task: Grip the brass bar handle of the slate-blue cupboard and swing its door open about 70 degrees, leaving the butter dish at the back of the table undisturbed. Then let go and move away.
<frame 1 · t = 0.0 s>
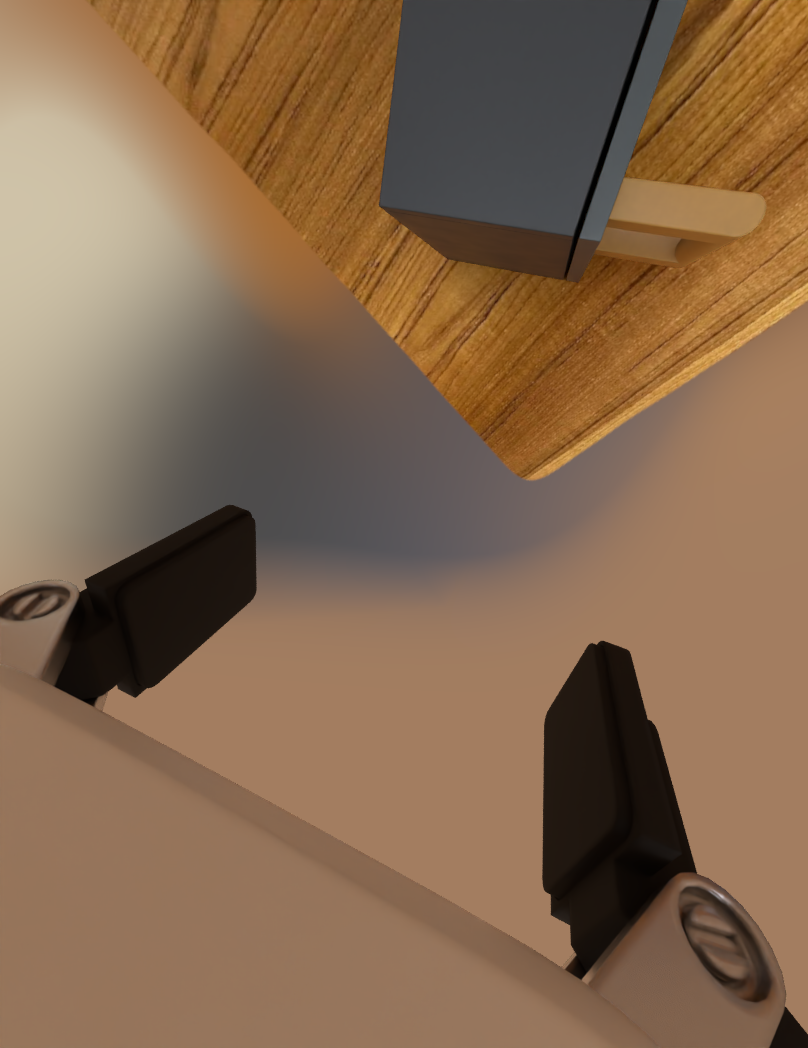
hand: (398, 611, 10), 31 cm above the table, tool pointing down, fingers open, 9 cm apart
door: (702, 98, 19), point 8 cm above the table, hinge at 0.0°
cupboard: (535, 145, 28), on the table
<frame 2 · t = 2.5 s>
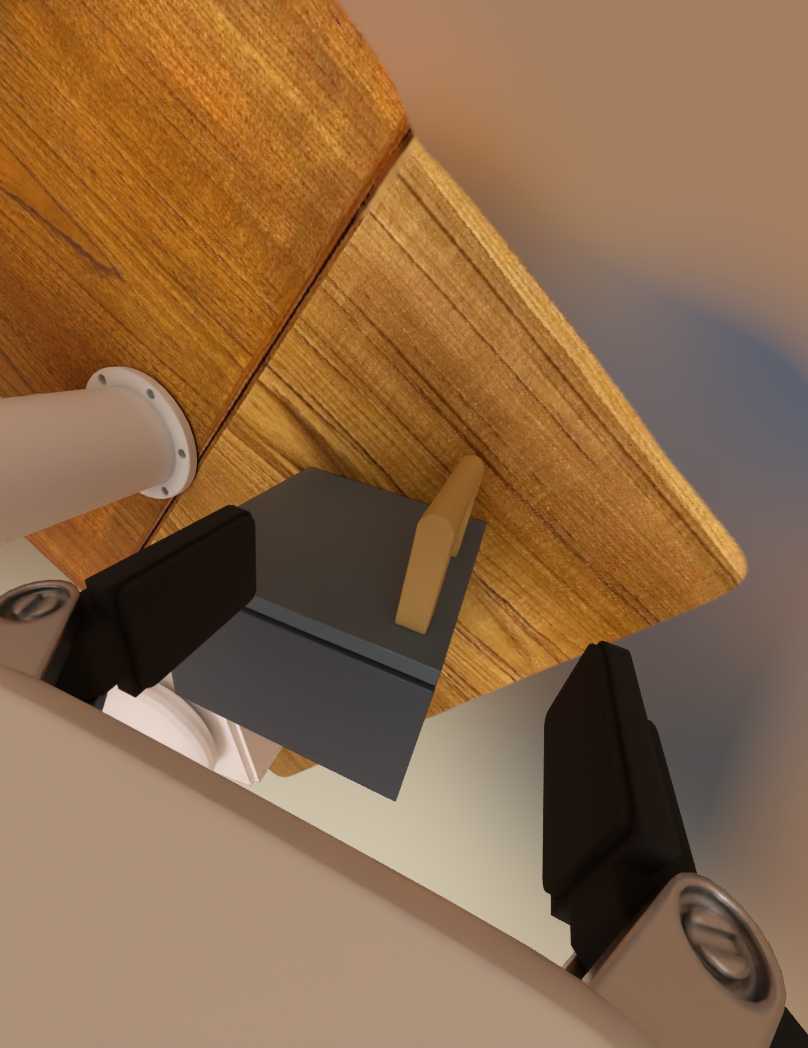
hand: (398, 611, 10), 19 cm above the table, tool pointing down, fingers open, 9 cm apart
door: (358, 498, 23), point 8 cm above the table, hinge at 0.0°
cupboard: (383, 554, 34), on the table
butter dish: (229, 657, 49), on the table
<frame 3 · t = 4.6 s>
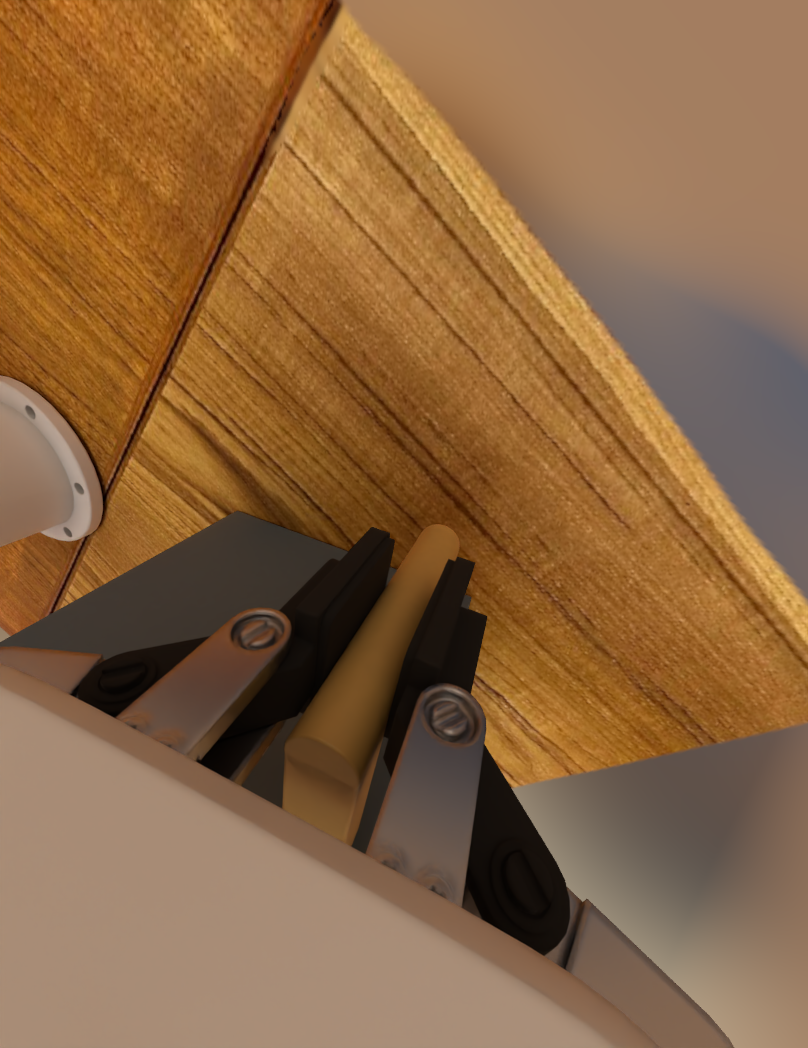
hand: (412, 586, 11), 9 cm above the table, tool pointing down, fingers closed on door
door: (263, 589, 15), point 8 cm above the table, hinge at 0.0°, touching gripper
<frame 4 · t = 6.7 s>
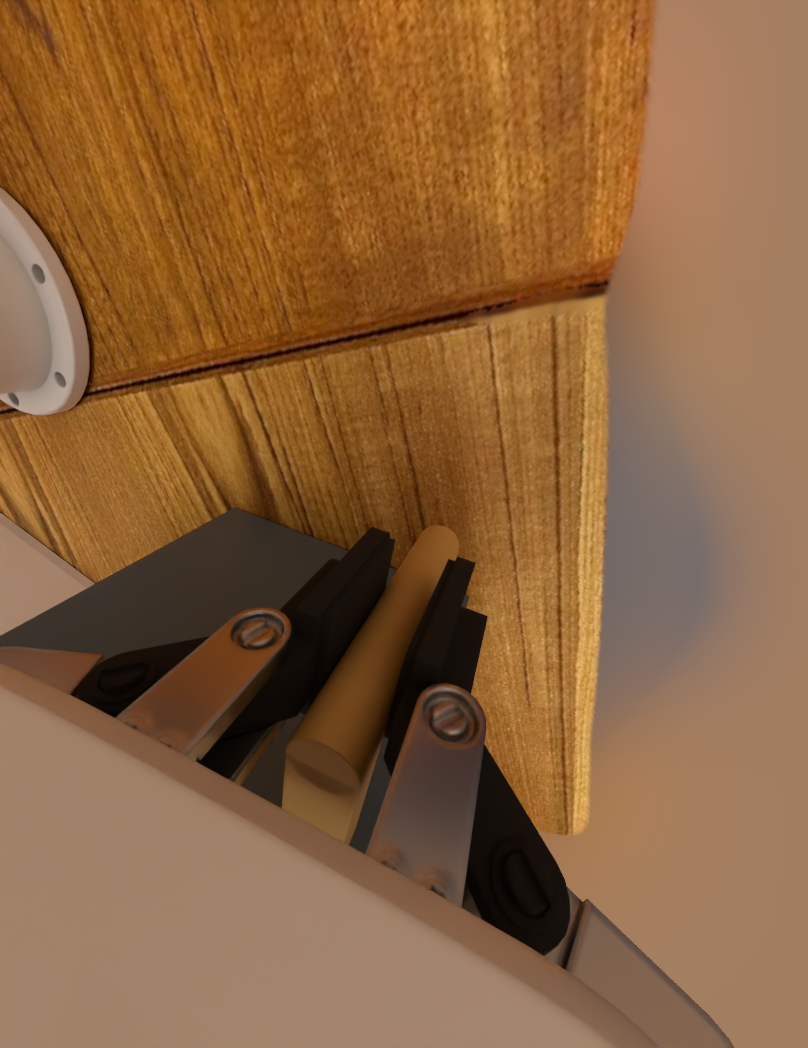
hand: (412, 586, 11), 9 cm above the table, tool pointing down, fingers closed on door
door: (262, 588, 15), point 8 cm above the table, hinge at 33.7°, touching gripper
butter dish: (39, 592, 39), on the table
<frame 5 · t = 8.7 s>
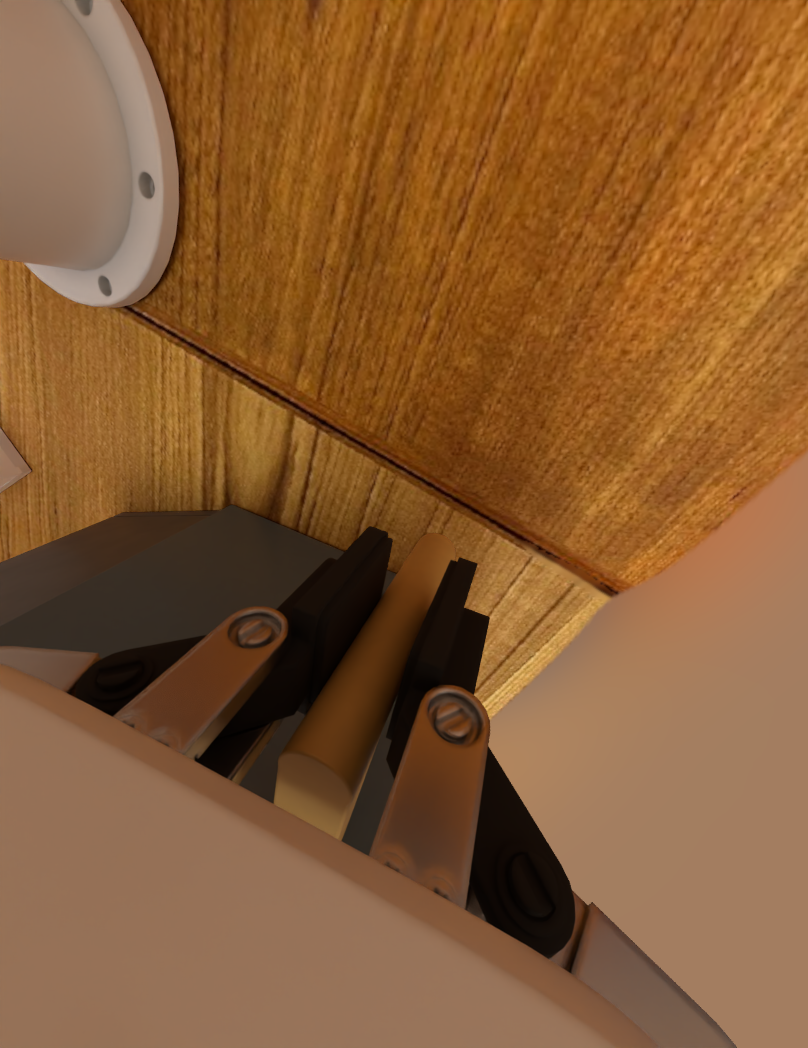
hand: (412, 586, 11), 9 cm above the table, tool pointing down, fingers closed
door: (257, 589, 15), point 8 cm above the table, hinge at 66.3°
cupboard: (210, 603, 29), on the table
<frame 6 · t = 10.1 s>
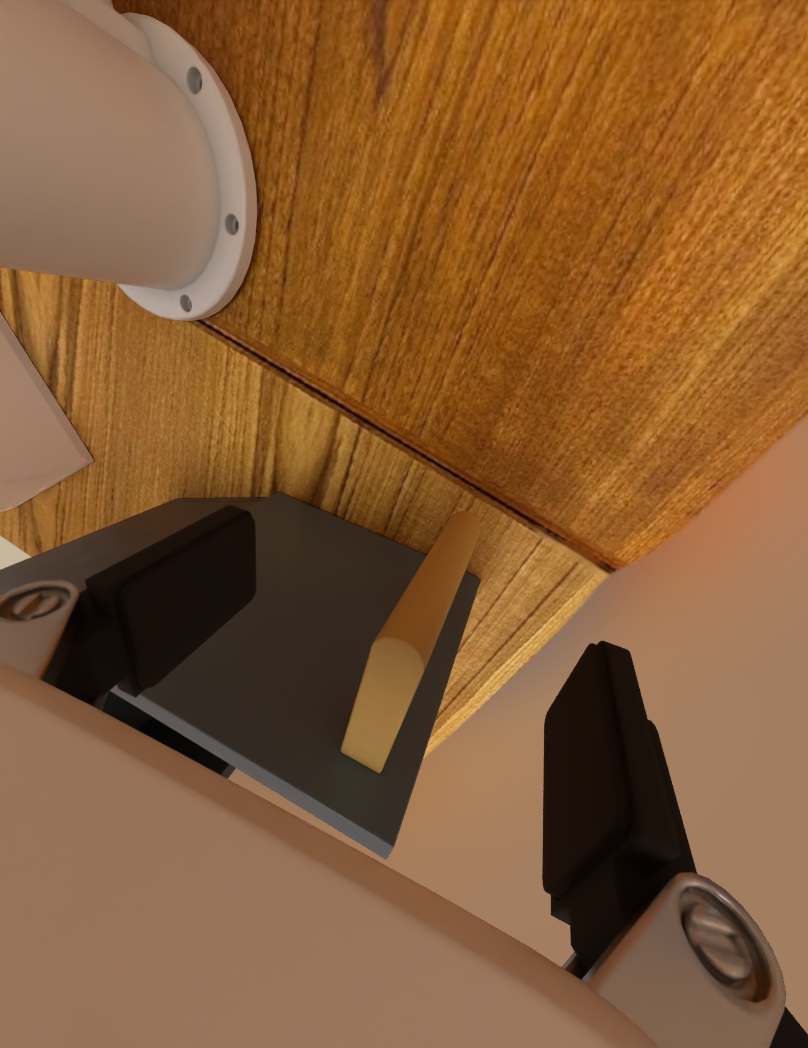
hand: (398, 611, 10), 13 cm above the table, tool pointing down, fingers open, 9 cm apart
door: (318, 555, 18), point 8 cm above the table, hinge at 66.3°
cupboard: (249, 581, 33), on the table
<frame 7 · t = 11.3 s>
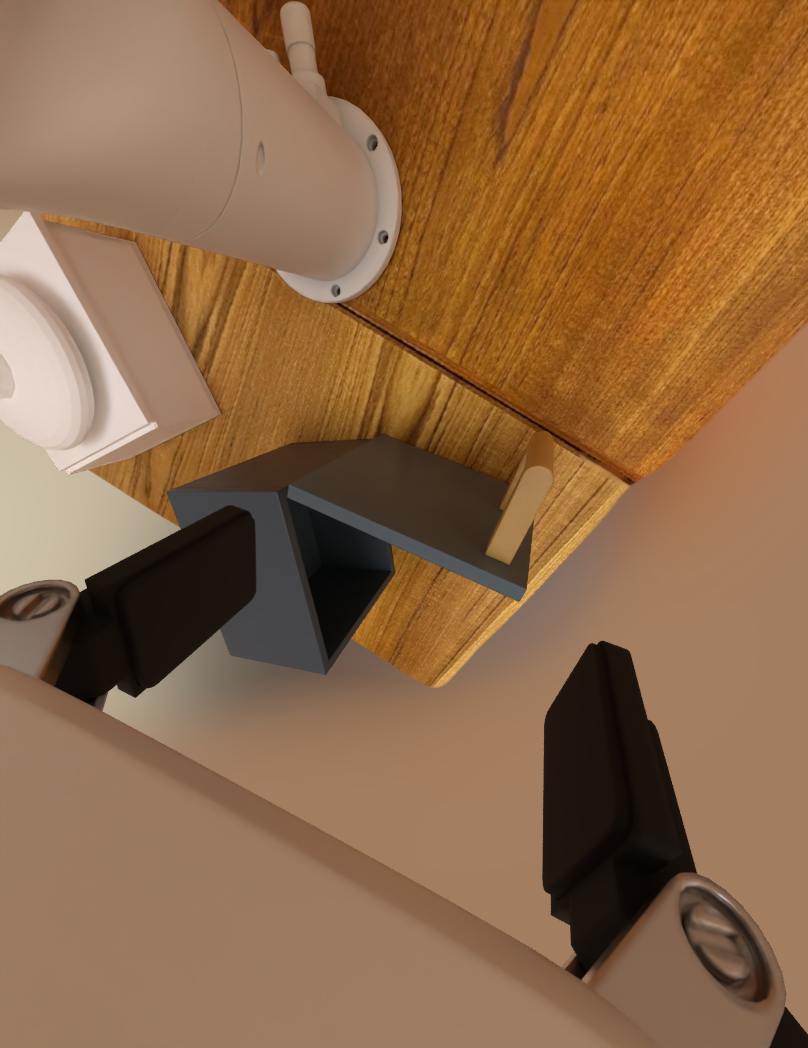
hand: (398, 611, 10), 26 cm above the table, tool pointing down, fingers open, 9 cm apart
door: (446, 458, 27), point 8 cm above the table, hinge at 66.3°
cupboard: (345, 510, 42), on the table
butter dish: (136, 362, 44), on the table
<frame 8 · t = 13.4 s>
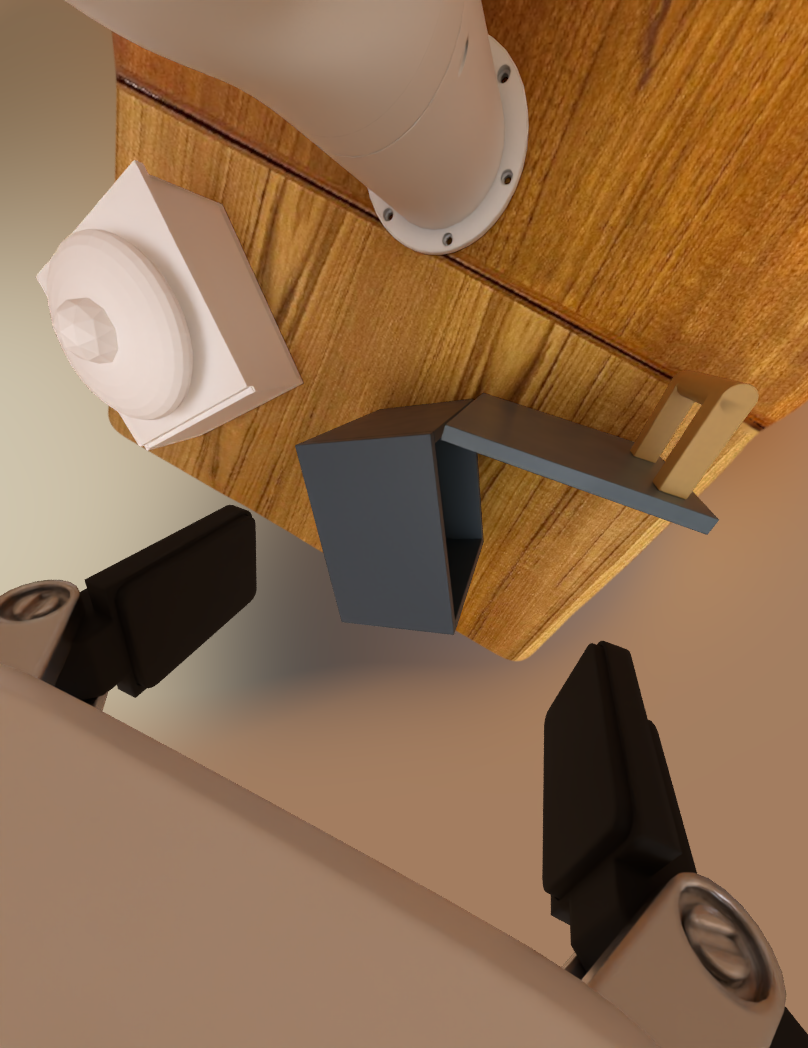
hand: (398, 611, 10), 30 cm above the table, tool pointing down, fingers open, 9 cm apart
door: (585, 402, 26), point 8 cm above the table, hinge at 66.3°
cupboard: (433, 477, 41), on the table
butter dish: (212, 334, 43), on the table
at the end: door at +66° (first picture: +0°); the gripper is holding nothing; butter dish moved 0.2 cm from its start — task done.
